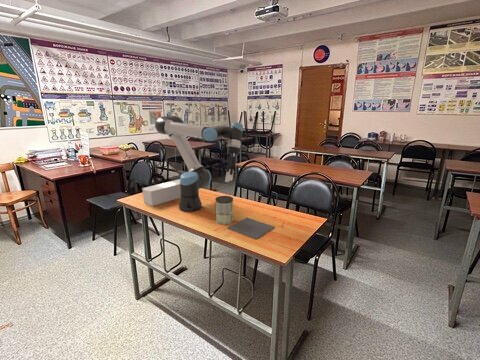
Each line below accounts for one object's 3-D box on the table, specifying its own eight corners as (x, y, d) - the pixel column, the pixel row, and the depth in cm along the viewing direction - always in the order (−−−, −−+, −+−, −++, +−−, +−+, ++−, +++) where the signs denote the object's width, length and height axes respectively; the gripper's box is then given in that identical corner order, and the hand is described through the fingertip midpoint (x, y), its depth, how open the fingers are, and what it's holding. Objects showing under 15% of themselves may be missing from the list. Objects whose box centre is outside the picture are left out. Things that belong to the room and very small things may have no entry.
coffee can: (213, 218, 160) (213, 196, 156) (229, 216, 164) (229, 194, 160) (218, 225, 151) (218, 202, 147) (235, 223, 154) (235, 200, 150)
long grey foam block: (152, 206, 180) (150, 191, 177) (143, 202, 186) (142, 188, 183) (189, 195, 203) (188, 181, 200) (180, 192, 210) (179, 179, 207)
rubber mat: (227, 228, 147) (227, 227, 147) (247, 218, 161) (247, 217, 161) (256, 239, 135) (256, 238, 135) (275, 227, 149) (275, 226, 148)
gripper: (243, 144, 152) (237, 180, 150) (236, 152, 177) (231, 183, 174) (230, 141, 151) (224, 178, 149) (225, 150, 176) (220, 181, 173)
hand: (228, 181), depth 162 cm, fingers open, 13 cm apart
